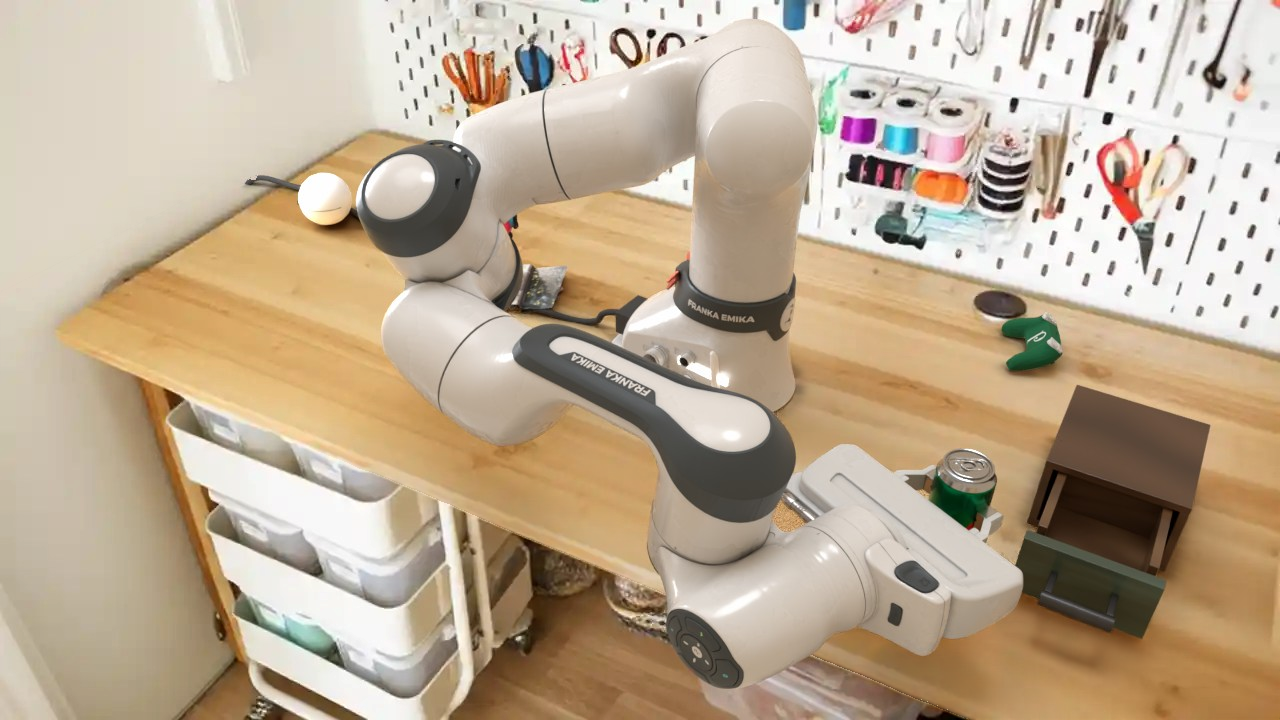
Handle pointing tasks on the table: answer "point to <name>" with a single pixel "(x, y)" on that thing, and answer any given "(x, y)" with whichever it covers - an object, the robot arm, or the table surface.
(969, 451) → the soda can
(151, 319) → the table surface
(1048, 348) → the gaming controller
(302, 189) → the white egg shape
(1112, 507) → the drawer
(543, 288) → the statue
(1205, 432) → the cabinet
